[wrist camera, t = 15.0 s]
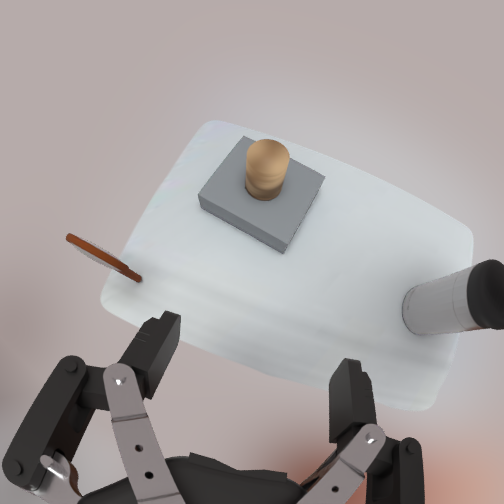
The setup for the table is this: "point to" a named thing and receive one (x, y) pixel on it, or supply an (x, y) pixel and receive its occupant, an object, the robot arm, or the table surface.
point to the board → (255, 211)
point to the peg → (266, 169)
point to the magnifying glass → (101, 256)
